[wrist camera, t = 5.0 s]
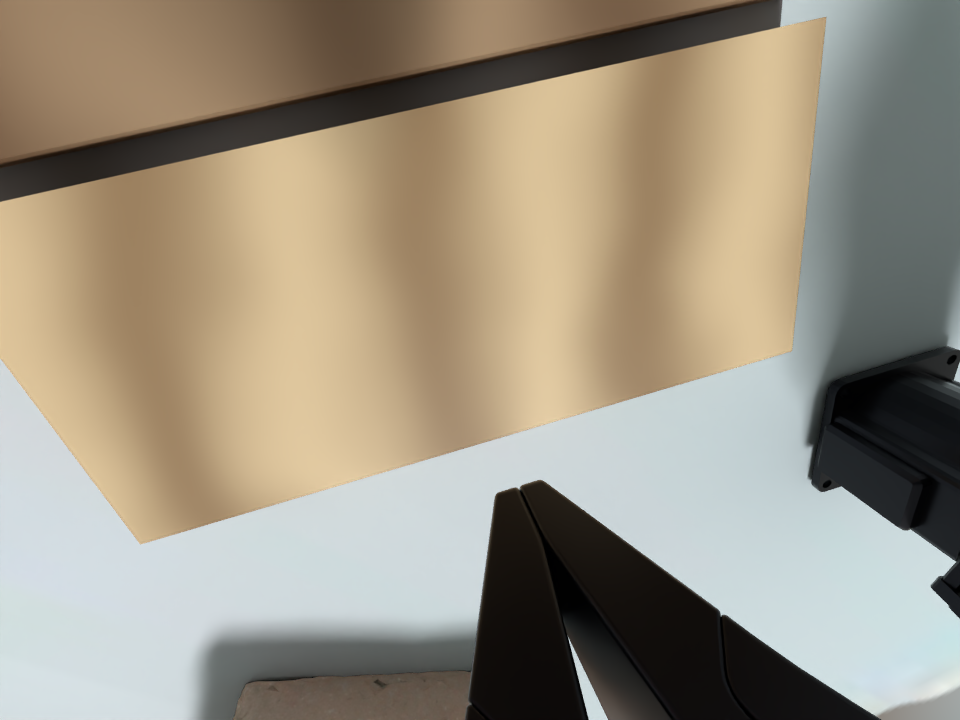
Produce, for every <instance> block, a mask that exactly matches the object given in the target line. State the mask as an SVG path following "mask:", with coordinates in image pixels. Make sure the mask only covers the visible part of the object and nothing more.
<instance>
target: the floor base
mask: <svg viewBox="0 0 960 720" xmlns="http://www.w3.org/2000/svg"><path fill="white" fill-rule="evenodd" d="M781 10H782V0H0V202H2V201H6V200H11V199H15V198H20V197H24V196H29V195H33V194H38V193H42V192H47V191H51V190H56V189H60V188H64V187H69V186H73V185H78V184H82V183H87V182H91V181H96V180H100V179H105V178H109V177H114V176H118V175H123V174H127V173H131V172H136V171H140V170H145V169H149V168H154V167H158V166H163V165H167V164H172V163H176V162H181V161H185V160H189V159H194V158H198V157H203V156H207V155H212V154H216V153H221V152H225V151H230V150H234V149H239V148H243V147H248V146H252V145H256V144H261V143H265V142H270V141H274V140H279V139H283V138H288V137H292V136H297V135H301V134H306V133H310V132H314V131H319V130H323V129H328V128H332V127H337V126H341V125H346V124H350V123H355V122H359V121H364V120H368V119H373V118H377V117H381V116H386V115H390V114H395V113H399V112H404V111H408V110H413V109H417V108H422V107H426V106H431V105H435V104H439V103H444V102H448V101H453V100H457V99H462V98H466V97H471V96H475V95H480V94H484V93H489V92H493V91H498V90H502V89H506V88H511V87H515V86H520V85H524V84H529V83H533V82H538V81H542V80H547V79H551V78H556V77H560V76H564V75H569V74H573V73H578V72H582V71H587V70H591V69H596V68H600V67H605V66H609V65H614V64H618V63H623V62H627V61H631V60H636V59H640V58H645V57H649V56H654V55H658V54H663V53H667V52H672V51H676V50H681V49H685V48H689V47H694V46H698V45H703V44H707V43H712V42H716V41H721V40H725V39H730V38H734V37H739V36H743V35H748V34H752V33H756V32H761V31H765V30H770V29H774V28H779V27H780V22H781Z"/></svg>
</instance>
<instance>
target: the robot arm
mask: <svg viewBox="0 0 960 720" xmlns="http://www.w3.org/2000/svg"><path fill="white" fill-rule="evenodd" d="M959 362H960V350H957V349H954V348H951V347H949V346H947V347H943V348H939V349H936V350H933V351H930V352H926V353H923V354H920V355H916V356H913V357H910V358H907V359H903V360H900V361H897V362H894V363H890V364H887V365H884V366H881V367H877V368H874V369H871V370H867V371H864V372H861V373H858V374H854V375H851V376H848V377H845V378H841V379H838V380H836V381H835V382H834V383H832V384H831V386H830V387H829V389H828V392H827V398H826V403H825V409H824V415H823V420H822V426H821V431H820V437H819V442H818V448H817V453H816V459H815V465H814V470H813V476H812V481H811V483H812V485H813V486H814V487H815V488H816V489H817V490H819V491H821V492H825V491H828V490H831V489H834V488H837V487H840V486H842V487H843V488H845V489H846V490H847V491H849V492H850V493H852V494H853V495H854V496H856V497H857V498H858V499H860V500H861V501H863V502H864V503H865V504H867V505H868V506H869V507H871V508H872V509H874V510H875V511H876V512H878V513H879V514H880V515H882V516H883V517H885V518H886V519H887V520H889V521H890V522H891V523H893V524H894V525H896V526H897V527H899V528H900V529H902V530H910V529H911V530H912V531H914V532H915V533H917V534H918V535H919V536H921V537H922V538H924V539H925V540H926V541H928V542H929V543H931V544H932V545H934V546H935V547H936V548H938V549H939V550H941V551H942V552H943V553H945V554H946V555H948V556H949V557H950V558H952V559H953V560H955V561H956V563H955V564H954V565H953V566H952V567H951V568H950V570H949V571H948V572H947V573H946V574H945V575H944V576H939V577H938V578H937V579H936V580H935V581H934V582H933V584H932V585H931V588H932V589H933V590H934V591H935V592H936V593H937V594H938V595H939V596H940V597H941V598H942V599H943V600H944V601H945V602H946V603H947V604H948V605H949V608H950V609H951V610H952V611H953V612H954V613H955V614H956V615H957V616H958V617H959V618H960V383H959V382H956V381H954V377H955V374H956V371H957V368H958V365H959ZM567 635H568V636H567ZM568 637H569V639H570V641H571V643H572V645H573V647H574V649H575V652H576V654H577V656H578V658H579V660H580V662H581V664H582V666H583V668H584V670H585V672H586V674H587V676H588V679H589V681H590V683H591V685H592V687H593V689H594V691H595V693H596V695H597V697H598V699H599V701H600V703H601V706H602V708H603V710H604V712H605V714H606V716H607V718H608V720H881V719H879V718H878V717H876V716H875V715H873V714H871V713H870V712H868V711H866V710H865V709H863V708H862V707H860V706H858V705H857V704H855V703H854V702H852V701H851V700H849V699H847V698H846V697H844V696H843V695H841V694H840V693H838V692H836V691H835V690H833V689H832V688H830V687H829V686H827V685H826V684H824V683H822V682H821V681H819V680H818V679H816V678H815V677H813V676H812V675H810V674H808V673H807V672H805V671H804V670H802V669H801V668H799V667H798V666H796V665H795V664H793V663H792V662H791V661H789V660H788V659H786V658H785V657H783V656H782V655H781V654H779V653H778V652H776V651H775V650H773V649H772V648H771V647H769V646H768V645H766V644H765V643H763V642H762V641H761V640H759V639H758V638H756V637H755V636H754V635H752V634H751V633H749V632H748V631H747V630H745V629H744V628H743V627H741V626H740V625H739V624H737V623H736V622H735V621H733V620H732V619H731V618H729V617H728V616H727V615H722V616H721V614H720V611H719V610H718V609H717V608H715V607H714V606H713V605H711V604H710V603H709V602H707V601H706V600H705V599H703V598H702V597H700V596H699V595H698V594H696V593H695V592H694V591H692V590H691V589H690V588H688V587H687V586H686V585H684V584H683V583H681V582H680V581H679V580H677V579H676V578H675V577H673V576H672V575H671V574H669V573H668V572H667V571H665V570H664V569H662V568H661V567H660V566H658V565H657V564H656V563H654V562H653V561H652V560H650V559H649V558H648V557H646V556H645V555H643V554H642V553H641V552H639V551H638V550H637V549H635V548H634V547H633V546H631V545H630V544H629V543H627V542H626V541H624V540H623V539H622V538H620V537H619V536H618V535H616V534H615V533H614V532H612V531H611V530H610V529H608V528H607V527H605V526H604V525H603V524H601V523H600V522H599V521H597V520H596V519H595V518H593V517H592V516H591V515H589V514H588V513H586V512H585V511H584V510H582V509H581V508H580V507H578V506H577V505H576V504H574V503H573V502H571V501H570V500H569V499H567V498H566V497H565V496H563V495H562V494H561V493H559V492H558V491H557V490H555V489H554V488H552V487H551V486H550V485H548V484H547V483H546V482H544V481H542V480H537V481H534V482H531V483H528V484H524V485H522V486H521V487H520V490H519V489H518V488H511V489H508V490H505V491H502V492H499V493H497V494H496V496H495V500H494V507H493V515H492V522H491V530H490V537H489V544H488V552H487V559H486V567H485V574H484V582H483V589H482V596H481V604H480V611H479V619H478V626H477V633H476V641H475V648H474V656H473V663H472V671H471V678H470V685H469V693H468V703H469V705H468V706H467V707H466V713H465V720H589V719H588V715H587V711H586V707H585V703H584V699H583V695H582V691H581V687H580V683H579V679H578V675H577V671H576V667H575V663H574V659H573V655H572V652H571V648H570V644H569V640H568Z"/></svg>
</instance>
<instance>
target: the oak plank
mask: <svg viewBox="0 0 960 720" xmlns="http://www.w3.org/2000/svg"><path fill="white" fill-rule="evenodd" d="M825 25H826V17H823V18H819V19H814V20H810V21H806V22H801V23H797V24H792V25H788V26H783V27H779V28H774V29H770V30H765V31H761V32H756V33H752V34H748V35H743V36H739V37H734V38H730V39H725V40H721V41H716V42H712V43H707V44H703V45H698V46H694V47H689V48H685V49H681V50H676V51H672V52H667V53H663V54H658V55H654V56H649V57H645V58H640V59H636V60H631V61H627V62H623V63H618V64H614V65H609V66H605V67H600V68H596V69H591V70H587V71H582V72H578V73H573V74H569V75H564V76H560V77H556V78H551V79H547V80H542V81H538V82H533V83H529V84H524V85H520V86H515V87H511V88H506V89H502V90H498V91H493V92H489V93H484V94H480V95H475V96H471V97H466V98H462V99H457V100H453V101H448V102H444V103H439V104H435V105H431V106H426V107H422V108H417V109H413V110H408V111H404V112H399V113H395V114H390V115H386V116H381V117H377V118H373V119H368V120H364V121H359V122H355V123H350V124H346V125H341V126H337V127H332V128H328V129H323V130H319V131H314V132H310V133H306V134H301V135H297V136H292V137H288V138H283V139H279V140H274V141H270V142H265V143H261V144H256V145H252V146H248V147H243V148H239V149H234V150H230V151H225V152H221V153H216V154H212V155H207V156H203V157H198V158H194V159H189V160H185V161H181V162H176V163H172V164H167V165H163V166H158V167H154V168H149V169H145V170H140V171H136V172H131V173H127V174H123V175H118V176H114V177H109V178H105V179H100V180H96V181H91V182H87V183H82V184H78V185H73V186H69V187H64V188H60V189H56V190H51V191H47V192H42V193H38V194H33V195H29V196H24V197H20V198H15V199H11V200H6V201H2V202H0V358H1V360H2V361H3V362H4V364H5V365H6V366H7V368H8V369H9V370H10V372H11V373H12V374H13V376H14V377H15V378H16V380H17V381H18V382H19V384H20V385H21V386H22V388H23V389H24V390H25V392H26V393H27V394H28V396H29V397H30V398H31V400H32V401H33V402H34V404H35V405H36V406H37V408H38V409H39V410H40V412H41V413H42V414H43V416H44V417H45V418H46V420H47V421H48V422H49V424H50V425H51V426H52V428H53V429H54V430H55V432H56V433H57V434H58V436H59V437H60V438H61V440H62V441H63V442H64V443H65V445H66V446H67V447H68V449H69V450H70V451H71V453H72V454H73V455H74V457H75V458H76V459H77V461H78V462H79V463H80V465H81V466H82V467H83V469H84V470H85V471H86V473H87V474H88V475H89V477H90V478H91V479H92V481H93V482H94V483H95V485H96V486H97V487H98V489H99V490H100V491H101V493H102V494H103V495H104V497H105V498H106V499H107V501H108V502H109V503H110V505H111V506H112V507H113V509H114V510H115V511H116V513H117V514H118V515H119V517H120V518H121V519H122V521H123V522H124V523H125V525H126V526H127V527H128V529H129V530H130V531H131V533H132V534H133V535H134V537H135V538H136V539H137V541H138V542H139V543H140V544H143V543H147V542H150V541H154V540H157V539H160V538H164V537H167V536H170V535H174V534H177V533H181V532H184V531H187V530H191V529H194V528H197V527H201V526H204V525H208V524H211V523H214V522H218V521H221V520H224V519H228V518H231V517H234V516H238V515H241V514H245V513H248V512H251V511H255V510H258V509H261V508H265V507H268V506H272V505H275V504H278V503H282V502H285V501H288V500H292V499H295V498H299V497H302V496H305V495H309V494H312V493H315V492H319V491H322V490H326V489H329V488H332V487H336V486H339V485H342V484H346V483H349V482H352V481H356V480H359V479H363V478H366V477H369V476H373V475H376V474H379V473H383V472H386V471H390V470H393V469H396V468H400V467H403V466H406V465H410V464H413V463H417V462H420V461H423V460H427V459H430V458H433V457H437V456H440V455H443V454H447V453H450V452H454V451H457V450H460V449H464V448H467V447H470V446H474V445H477V444H481V443H484V442H487V441H491V440H494V439H497V438H501V437H504V436H508V435H511V434H514V433H518V432H521V431H524V430H528V429H531V428H534V427H538V426H541V425H545V424H548V423H551V422H555V421H558V420H561V419H565V418H568V417H572V416H575V415H578V414H582V413H585V412H588V411H592V410H595V409H599V408H602V407H605V406H609V405H612V404H615V403H619V402H622V401H625V400H629V399H632V398H636V397H639V396H642V395H646V394H649V393H652V392H656V391H659V390H663V389H666V388H669V387H673V386H676V385H679V384H683V383H686V382H690V381H693V380H696V379H700V378H703V377H706V376H710V375H713V374H716V373H720V372H723V371H727V370H730V369H733V368H737V367H740V366H743V365H747V364H750V363H754V362H757V361H760V360H764V359H767V358H770V357H774V356H777V355H781V354H784V353H787V352H791V351H792V345H793V336H794V326H795V316H796V307H797V297H798V287H799V277H800V268H801V258H802V248H803V239H804V229H805V219H806V209H807V200H808V190H809V180H810V170H811V161H812V151H813V141H814V132H815V122H816V112H817V102H818V93H819V83H820V73H821V63H822V54H823V44H824V34H825Z"/></svg>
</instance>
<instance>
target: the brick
mask: <svg viewBox="0 0 960 720" xmlns="http://www.w3.org/2000/svg"><path fill="white" fill-rule="evenodd" d="M470 678H471V672H467V671H444V672H437V671H431V672H423V673H401V674H390V675H383V674H380V675H359V676H348V677H341V676H318V677H314V678H303V679H298V680H290V681H255V682H251V683H248V684H246V685H245V687H244V689H243V691H242V693H241V697H240V698H239V700H238V703H237V707H236V712H235V715H234V718H233V720H465V713H466V707H467V706H468V705H469V703H468V693H469V685H470Z"/></svg>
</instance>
